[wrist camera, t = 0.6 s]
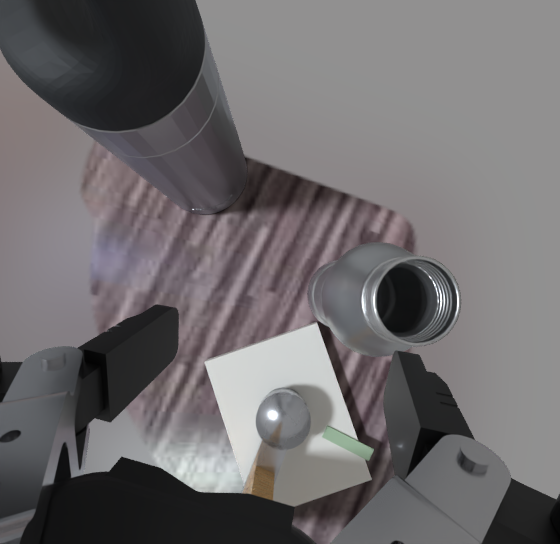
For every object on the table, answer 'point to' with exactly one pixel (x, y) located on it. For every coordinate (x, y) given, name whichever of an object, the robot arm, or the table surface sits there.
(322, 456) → the base plate
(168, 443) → the table surface
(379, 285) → the plastic bottle
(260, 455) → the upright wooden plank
